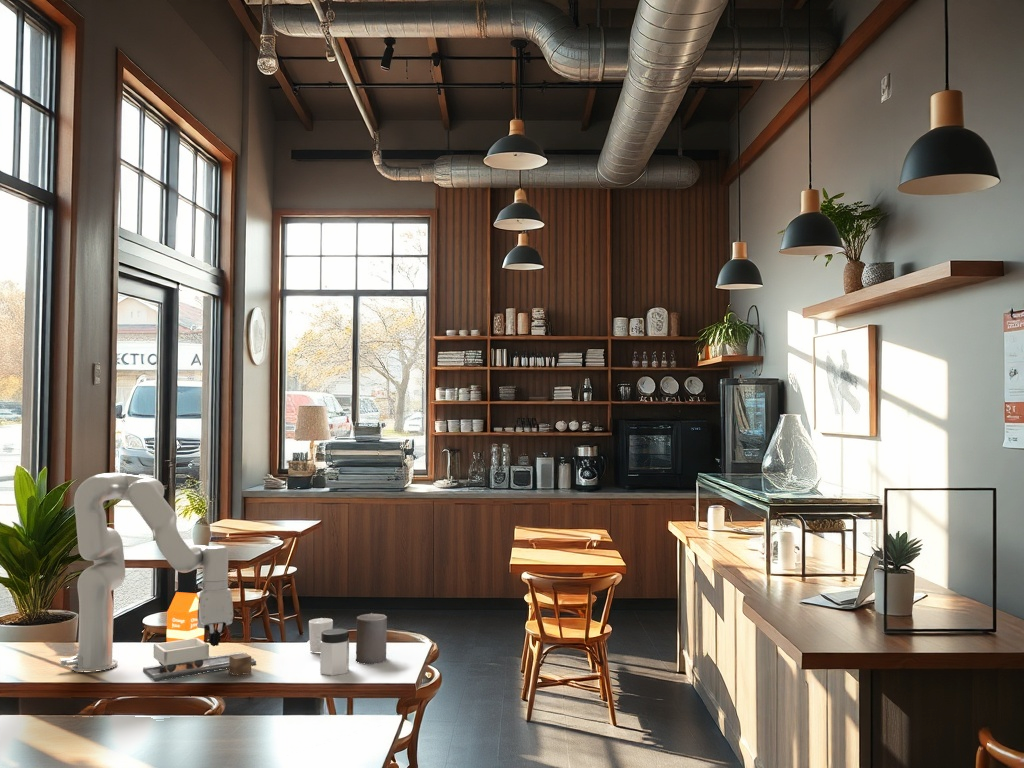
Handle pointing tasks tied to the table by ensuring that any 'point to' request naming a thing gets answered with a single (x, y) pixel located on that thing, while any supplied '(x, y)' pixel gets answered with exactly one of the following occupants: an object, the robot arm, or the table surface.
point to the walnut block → (240, 663)
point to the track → (190, 667)
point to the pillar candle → (371, 638)
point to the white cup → (318, 632)
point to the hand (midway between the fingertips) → (214, 645)
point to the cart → (181, 652)
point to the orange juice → (183, 618)
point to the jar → (334, 652)
